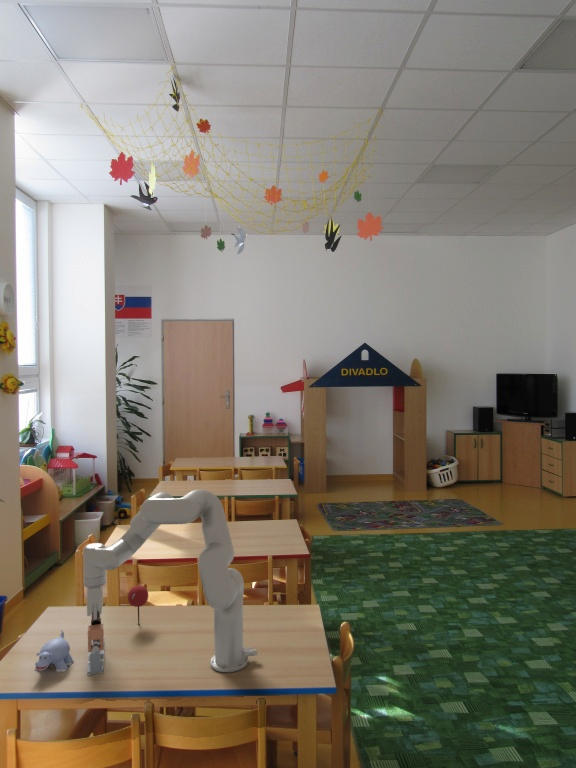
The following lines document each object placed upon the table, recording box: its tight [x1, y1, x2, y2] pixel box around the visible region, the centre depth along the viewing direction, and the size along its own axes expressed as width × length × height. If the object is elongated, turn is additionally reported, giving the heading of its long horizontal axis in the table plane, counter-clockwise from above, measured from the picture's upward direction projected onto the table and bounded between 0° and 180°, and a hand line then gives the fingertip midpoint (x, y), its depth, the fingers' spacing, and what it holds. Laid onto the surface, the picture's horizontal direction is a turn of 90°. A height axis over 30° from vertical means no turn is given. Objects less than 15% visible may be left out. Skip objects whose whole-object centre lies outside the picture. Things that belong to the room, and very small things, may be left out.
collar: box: [87, 623, 105, 653], centre depth 203 cm, size 5×4×8 cm
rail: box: [86, 639, 105, 676], centre depth 203 cm, size 5×23×7 cm, turn 16°
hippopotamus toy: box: [34, 629, 75, 673], centre depth 196 cm, size 11×15×10 cm
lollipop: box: [127, 585, 149, 625], centre depth 227 cm, size 8×8×15 cm
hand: (96, 630), depth 207 cm, fingers closed
